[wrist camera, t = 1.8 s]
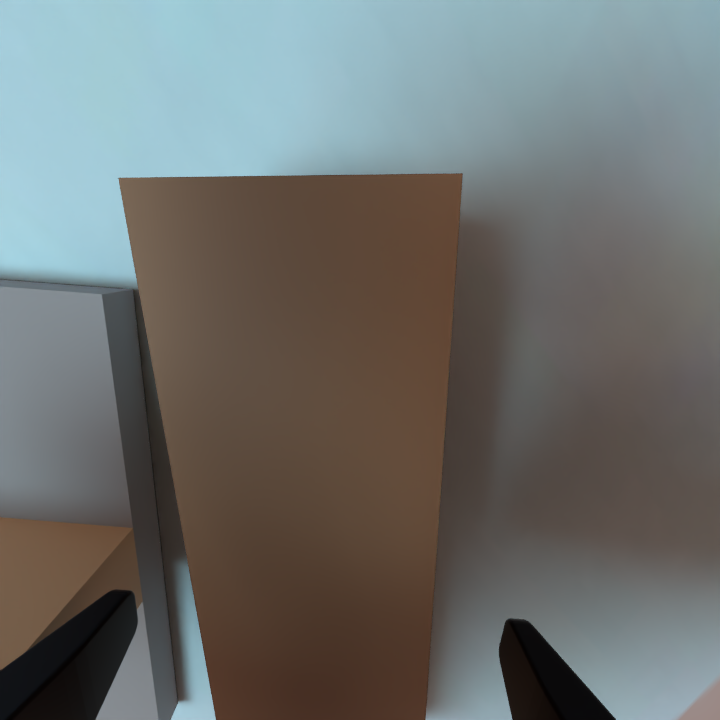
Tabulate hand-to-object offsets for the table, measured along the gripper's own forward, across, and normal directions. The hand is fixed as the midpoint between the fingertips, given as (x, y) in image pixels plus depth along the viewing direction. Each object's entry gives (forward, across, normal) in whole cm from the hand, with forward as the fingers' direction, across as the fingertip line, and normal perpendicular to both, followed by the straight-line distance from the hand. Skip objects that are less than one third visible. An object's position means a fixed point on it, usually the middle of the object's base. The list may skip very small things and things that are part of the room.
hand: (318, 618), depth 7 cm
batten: (+3, 0, 0) cm, 3 cm away
